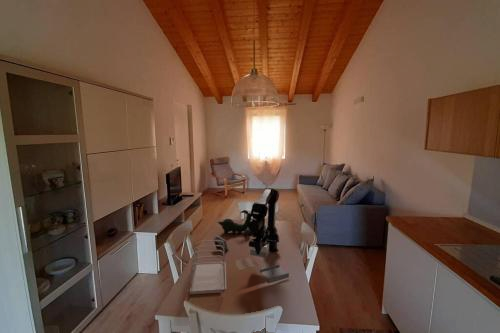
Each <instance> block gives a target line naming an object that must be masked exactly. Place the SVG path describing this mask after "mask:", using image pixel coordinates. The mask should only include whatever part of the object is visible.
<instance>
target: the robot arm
mask: <svg viewBox="0 0 500 333" xmlns="http://www.w3.org/2000/svg"><path fill="white" fill-rule="evenodd" d="M279 198H280V192H279V191H278V189H277V190H276V189H274V188H273V187H265V188H264V190H263V193H262V194H261V196H260V198H259V199H256V200H255V201H254V203H253V204H252V205H251V210H250V213H251V214H250V217H251V219H252V220H251V222H250V223H249V225H248V228H247V229H246V230H245V231H243V236H244V238H249V237H252V238H251V239H250V241H249V242H248V247H249V248H250V247H254V248H255V250H256V254H257V255H259V253H260V251H261V248H262V246H263V244H262V242H267V243H269V252H270V253H273V252H278V251H279V249H278V243H279V242H280V236H279V234H278V229H277V228H276V225H275V224H276V204H277V202H278V201H279ZM266 217H267V226H266Z"/></svg>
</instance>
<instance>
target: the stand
mask: <svg viewBox="0 0 500 333" xmlns="http://www.w3.org/2000/svg"><path fill="white" fill-rule="evenodd" d="M232 263H233V264H234V265H235V266H236V268H237V270H239V271H243V270H246V269H250V268H253V267H257V266H259V264H258V262H257V261H256V260H255V259H254V258H253V257H252V256H250V257H245V258H239V259H237V260H233V261H232Z"/></svg>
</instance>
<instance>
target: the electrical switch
mask: <svg viewBox="0 0 500 333" xmlns="http://www.w3.org/2000/svg"><path fill="white" fill-rule="evenodd" d="M213 240H222V241H223V242H224V245H223V242H221V241H213V242H214V245H221V246H223V247H224V246H225V252H226V251H229V250H230V249H229V246H228V242H227V240H226V239H225V238H223V237H222V236H219V235H216V238H214V239H213ZM215 250H222V251H223V248H222V247H220V246H216V247H215Z"/></svg>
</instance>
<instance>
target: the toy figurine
mask: <svg viewBox="0 0 500 333" xmlns="http://www.w3.org/2000/svg"><path fill="white" fill-rule="evenodd" d="M242 213H243V214H245V215H246V218H245V221H244V223H242V224H241V223H237V222H235V221H234V220H232V219H231V218H226V219H224V220H223V221H218V222H217V223H218V224H219V225H220V226H221V228H222V230H223V233H224V234H225V235H227V234H228V233H229V232H232V234H233V235H235V234H237V233H238V234H239V235H242V233H244V231H245V230H246V229H249V228H248V225H249V223H250V222H251V221H252V219H253V218H252V217H250V214H251V212H249V211H248V210H247V209H246V210H245V209H243V210H242V211H240V214H242Z"/></svg>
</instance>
